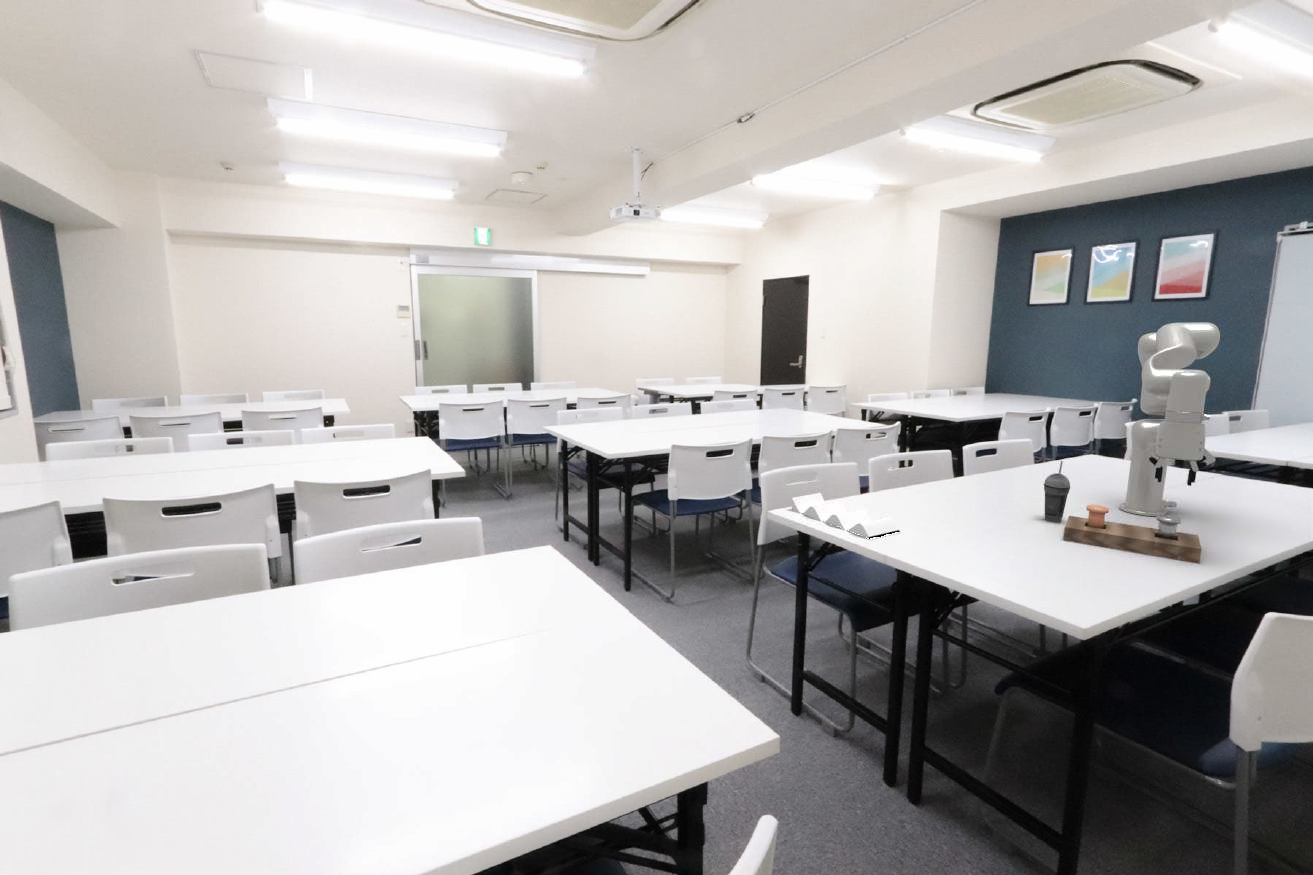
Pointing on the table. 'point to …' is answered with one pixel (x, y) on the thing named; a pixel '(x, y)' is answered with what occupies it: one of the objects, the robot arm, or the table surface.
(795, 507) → the file organizer
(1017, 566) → the table surface
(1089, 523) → the terracotta plunger
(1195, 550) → the button board
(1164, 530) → the grey plunger
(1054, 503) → the beverage cup
